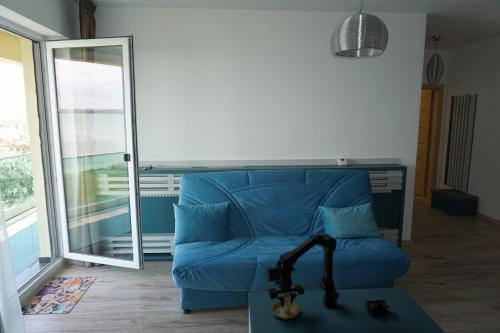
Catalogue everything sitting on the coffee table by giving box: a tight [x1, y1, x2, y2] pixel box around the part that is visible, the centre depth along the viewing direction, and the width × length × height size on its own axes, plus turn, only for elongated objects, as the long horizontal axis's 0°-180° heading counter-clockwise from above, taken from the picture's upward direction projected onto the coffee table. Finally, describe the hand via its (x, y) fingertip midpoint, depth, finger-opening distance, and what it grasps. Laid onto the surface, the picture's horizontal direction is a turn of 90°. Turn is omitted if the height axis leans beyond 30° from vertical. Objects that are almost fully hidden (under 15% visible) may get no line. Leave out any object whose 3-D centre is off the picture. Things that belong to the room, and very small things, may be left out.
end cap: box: [364, 298, 390, 318], centre depth 174 cm, size 10×7×7 cm
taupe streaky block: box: [282, 293, 290, 312], centre depth 175 cm, size 3×5×8 cm, turn 15°
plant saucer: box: [271, 301, 301, 320], centre depth 175 cm, size 15×15×3 cm
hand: (285, 306), depth 175 cm, fingers open, 4 cm apart
